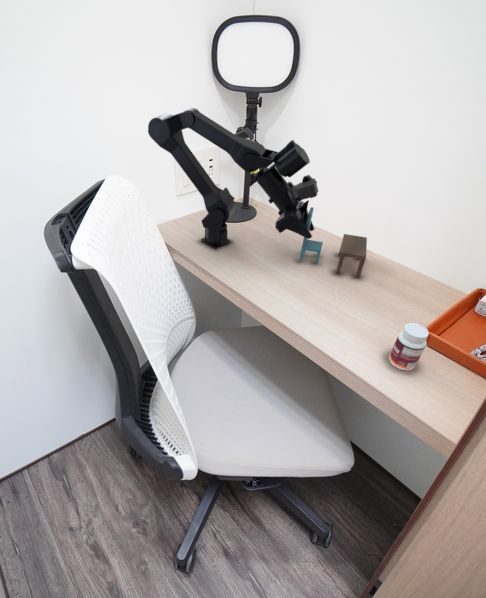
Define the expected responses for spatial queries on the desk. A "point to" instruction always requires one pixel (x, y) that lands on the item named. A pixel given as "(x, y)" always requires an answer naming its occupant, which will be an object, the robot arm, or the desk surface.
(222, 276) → the desk surface
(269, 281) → the desk surface
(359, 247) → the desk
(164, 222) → the desk surface
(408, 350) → the pill bottle
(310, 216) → the chair
